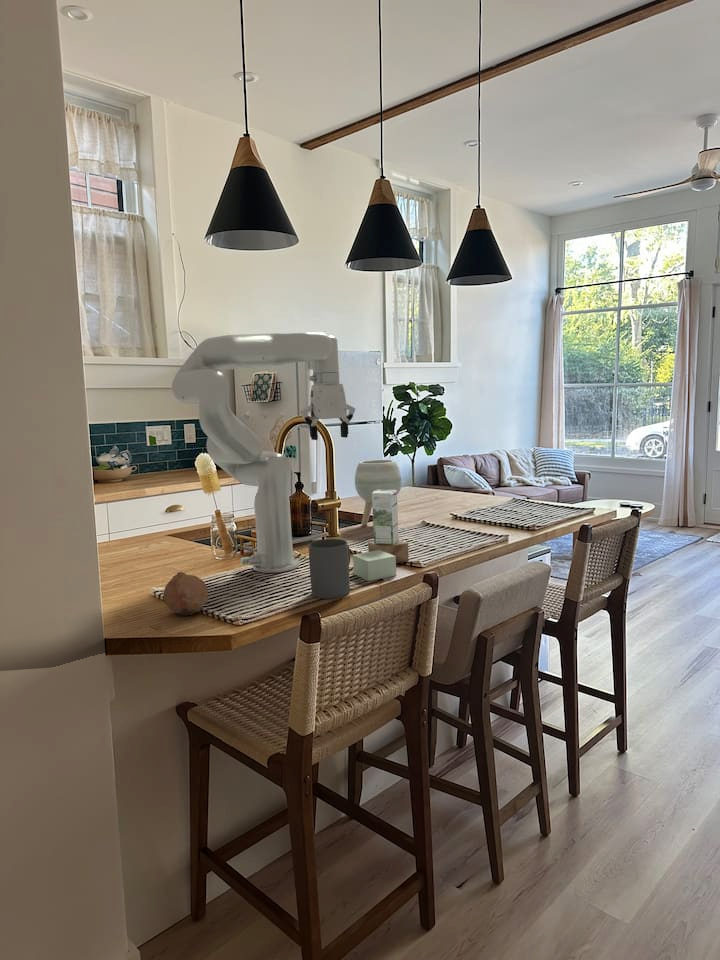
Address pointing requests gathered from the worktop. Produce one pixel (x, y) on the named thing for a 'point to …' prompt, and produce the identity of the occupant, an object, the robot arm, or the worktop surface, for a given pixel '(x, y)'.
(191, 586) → the onion
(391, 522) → the syrup box
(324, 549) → the mug
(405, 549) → the walnut block
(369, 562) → the sage block
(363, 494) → the planter
